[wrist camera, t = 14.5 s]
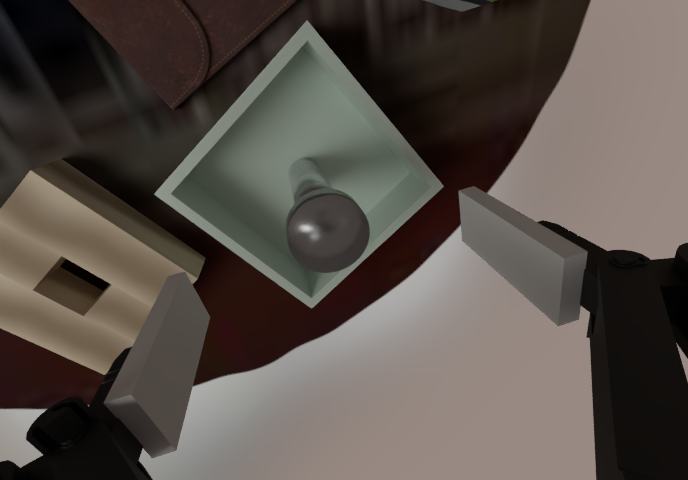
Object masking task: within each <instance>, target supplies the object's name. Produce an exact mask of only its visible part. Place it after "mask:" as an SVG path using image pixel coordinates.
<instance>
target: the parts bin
mask: <svg viewBox="0 0 688 480" xmlns="http://www.w3.org/2000/svg"><path fill="white" fill-rule="evenodd" d="M301 158H309V159H312V160H314V161H315V162H316V163H317V164H318V165H319V167H320V168H321V170H322V172H323V173H324V175H325V177H326V178H327V180H328V182H329V183H330V185H331V187H332V188H333V189H336V190H340V191H342V192H344V193H346V194H348V195H349V196H351V197H352V198H353V199H354V200H355V201H356V202H357V204H358V205H359V207H360V208H361V209H362V211H363V212H364V214H365V215H366V217H367V220H368V223H369V228H370V236H369V241H368V245H367V247H366V249H365V251H364V253H363V254H362V255H361V257H360V258H359V259H358V260H357V261H356V262H355V263H353V264H352V265H350V266H349V267H347V268H345V269H343V270H340V271H336V272H331V273H320V272H315V271H312V270H309V269H307V268H305V267H303V266H302V265H300V264H299V263H298V262H297V261H296V260H295V258H294V257H293V256H292V254H291V252H290V250H289V247H288V242H287V233H286V220H287V216H288V213H289V211H290V209H291V208H292V206H293V205H294V199H293V195H292V190H291V185H290V180H289V169H290V166H291V165H292V164H293V163H294V162H295V161H296V160H298V159H301ZM443 187H444V186H443V185H442V183H441V182H440V181H439V180H438V179H437V177H436V176H435V175H434V174H433V173H432V171H431V170H430V169H429V168H428V166H427V165H426V164H425V163H424V162H423V160H422V159H421V158H420V157H419V156H418V154H417V153H416V152H415V151H414V149H413V148H412V147H411V146H410V145H409V143H408V142H407V141H406V140H405V139H404V137H403V136H402V135H401V134H400V132H399V131H398V130H397V129H396V128H395V126H394V125H393V124H392V123H391V122H390V120H389V119H388V118H387V117H386V115H385V114H384V113H383V112H382V111H381V109H380V108H379V107H378V106H377V105H376V103H375V102H374V101H373V100H372V98H371V97H370V96H369V95H368V94H367V92H366V91H365V90H364V89H363V88H362V86H361V85H360V84H359V83H358V82H357V80H356V79H355V78H354V77H353V75H352V74H351V73H350V72H349V71H348V69H347V68H346V67H345V66H344V65H343V63H342V62H341V61H340V60H339V58H338V57H337V56H336V55H335V54H334V52H333V51H332V50H331V49H330V48H329V46H328V45H327V44H326V43H325V41H324V40H323V39H322V38H321V37H320V35H319V34H318V33H317V32H316V31H315V29H314V28H313V27H312V26H311V24H310V23H309V22H308V21H306V22H305V23H304V24H303V26H302V27H301V28H300V29H299V30H298V31H297V32H296V34H295V35H294V36H293V37H292V38H291V39H290V40H289V41H288V43H287V44H286V45H285V46H284V47H283V48H282V49H281V51H280V52H279V53H278V54H277V55H276V56H275V57H274V59H273V60H272V61H271V62H270V63H269V64H268V65H267V66H266V68H265V69H264V70H263V71H262V72H261V73H260V74H259V76H258V77H257V78H256V79H255V80H254V81H253V82H252V83H251V85H250V86H249V87H248V88H247V89H246V90H245V91H244V93H243V94H242V95H241V96H240V97H239V98H238V99H237V101H236V102H235V103H234V104H233V105H232V106H231V107H230V108H229V110H228V111H227V112H226V113H225V114H224V115H223V116H222V118H221V119H220V120H219V121H218V122H217V123H216V124H215V125H214V127H213V128H212V129H211V130H210V131H209V132H208V133H207V135H206V136H205V137H204V138H203V139H202V140H201V141H200V143H199V144H198V145H197V146H196V147H195V148H194V149H193V150H192V152H191V153H190V154H189V155H188V156H187V157H186V158H185V160H184V161H183V162H182V163H181V164H180V165H179V166H178V167H177V169H176V170H175V171H174V172H173V173H172V174H171V175H170V177H169V178H168V179H167V180H166V181H165V182H164V183H163V185H162V186H161V187H160V188H159V189H158V190H157V191H156V192H155V194H154V195H156V196H157V197H158V198H160V199H161V200H163V201H164V202H165V203H167V204H168V205H169V206H171V207H172V208H174V209H175V210H176V211H178V212H179V213H180V214H182V215H183V216H185V217H186V218H187V219H189V220H190V221H191V222H193V223H194V224H196V225H197V226H198V227H200V228H201V229H203V230H204V231H205V232H207V233H208V234H209V235H211V236H212V237H214V238H215V239H216V240H218V241H219V242H220V243H222V244H223V245H225V246H226V247H227V248H229V249H230V250H231V251H233V252H234V253H236V254H237V255H238V256H240V257H241V258H243V259H244V260H245V261H247V262H248V263H249V264H251V265H252V266H254V267H255V268H256V269H258V270H259V271H260V272H262V273H263V274H265V275H266V276H267V277H269V278H270V279H272V280H273V281H274V282H276V283H277V284H278V285H280V286H281V287H283V288H284V289H285V290H287V291H288V292H289V293H291V294H292V295H294V296H295V297H296V298H298V299H299V300H300V301H302V302H303V303H305V304H306V305H307V306H309V307H310V308H313V307H314V306H315V305H316V304H317V303H318V302H319V301H320V300H321V299H323V298H324V297H325V296H326V295H327V294H328V293H329V292H330V291H331V290H332V289H333V288H334V287H336V286H337V285H338V284H339V283H340V282H341V281H342V280H343V279H344V278H345V277H346V276H347V275H349V274H350V273H351V272H352V271H353V270H354V269H355V268H356V267H357V266H358V265H359V264H360V263H362V262H363V261H364V260H365V259H366V258H367V257H368V256H369V255H370V254H371V253H372V252H373V251H375V250H376V249H377V248H378V247H379V246H380V245H381V244H382V243H383V242H384V241H385V240H386V239H388V238H389V237H390V236H391V235H392V234H393V233H394V232H395V231H396V230H397V229H398V228H399V227H401V226H402V225H403V224H404V223H405V222H406V221H407V220H408V219H409V218H410V217H411V216H412V215H414V214H415V213H416V212H417V211H418V210H419V209H420V208H421V207H422V206H423V205H424V204H425V203H427V202H428V201H429V200H430V199H431V198H432V197H433V196H434V195H435V194H436V193H437V192H438V191H440V190H441V189H442V188H443Z"/></svg>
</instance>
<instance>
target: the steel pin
mask: <svg viewBox="0 0 688 480" xmlns="http://www.w3.org/2000/svg"><path fill="white" fill-rule="evenodd" d="M289 180H290V185H291V190H292V195H293V199H294V205H293V206H292V208H291V209H290V211H289V213H288V216H287V220H286V233H287V242H288V247H289V250H290V252H291V254H292V256H293V257H294V258H295V260H296V261H297V262H298V263H299V264H300V265H302V266H303V267H305V268H307V269H309V270H312V271H315V272H320V273H331V272H336V271H340V270H343V269H345V268H347V267H349V266H350V265H352V264H353V263H355V262H356V261H357V260H358V259H359V258H360V257H361V255H362V254H363V253H364V251H365V249H366V247H367V245H368V241H369V236H370V228H369V223H368V220H367V217H366V215H365V214H364V212H363V211H362V209H361V208H360V207H359V205H358V204H357V202H356V201H355V200H354V199H353V198H352V197H351V196H349V195H348V194H346V193H344V192H342V191H340V190H336V189H333V188H332V187H331V185H330V183H329V182H328V180H327V178H326V177H325V175H324V173H323V172H322V170H321V168H320V167H319V165H318V164H317V163H316V162H315V161H314V160H312V159H309V158H301V159H298V160H296V161H295V162H294V163H293V164H292V165H291V166H290V169H289Z"/></svg>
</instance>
